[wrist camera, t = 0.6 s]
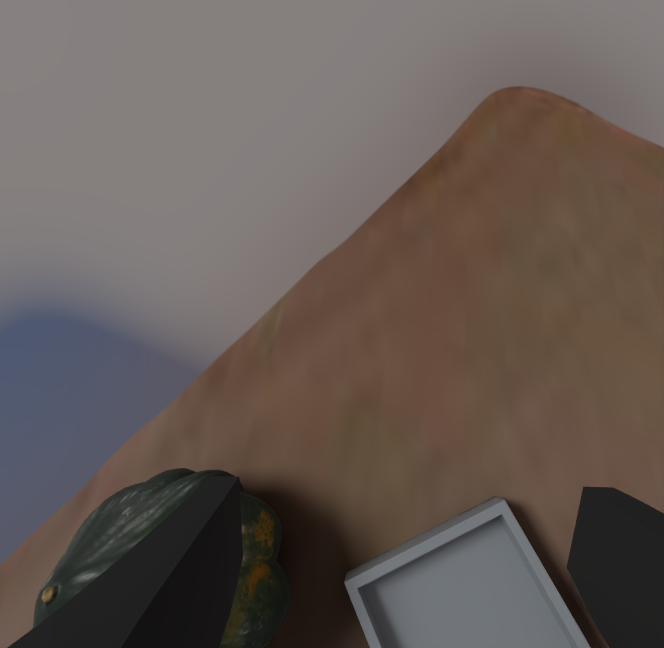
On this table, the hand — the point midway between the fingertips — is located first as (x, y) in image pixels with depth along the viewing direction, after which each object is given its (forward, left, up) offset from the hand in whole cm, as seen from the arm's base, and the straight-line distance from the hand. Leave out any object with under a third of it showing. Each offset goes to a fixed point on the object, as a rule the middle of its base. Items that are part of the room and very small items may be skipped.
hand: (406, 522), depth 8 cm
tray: (-13, 0, -25) cm, 28 cm away
